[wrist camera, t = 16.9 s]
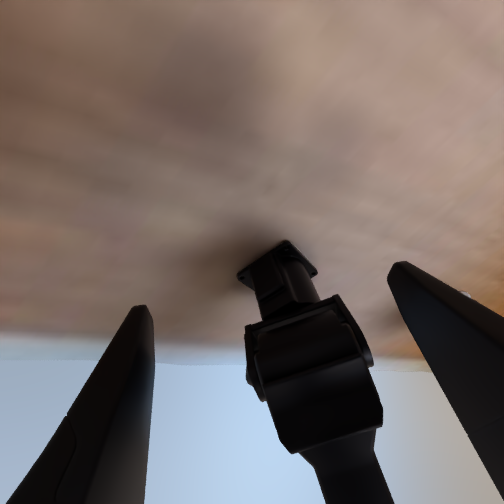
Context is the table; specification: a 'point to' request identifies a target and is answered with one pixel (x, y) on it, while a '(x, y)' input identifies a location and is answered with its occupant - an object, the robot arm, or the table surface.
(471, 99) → the table surface
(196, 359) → the table surface
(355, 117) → the table surface
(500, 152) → the table surface
